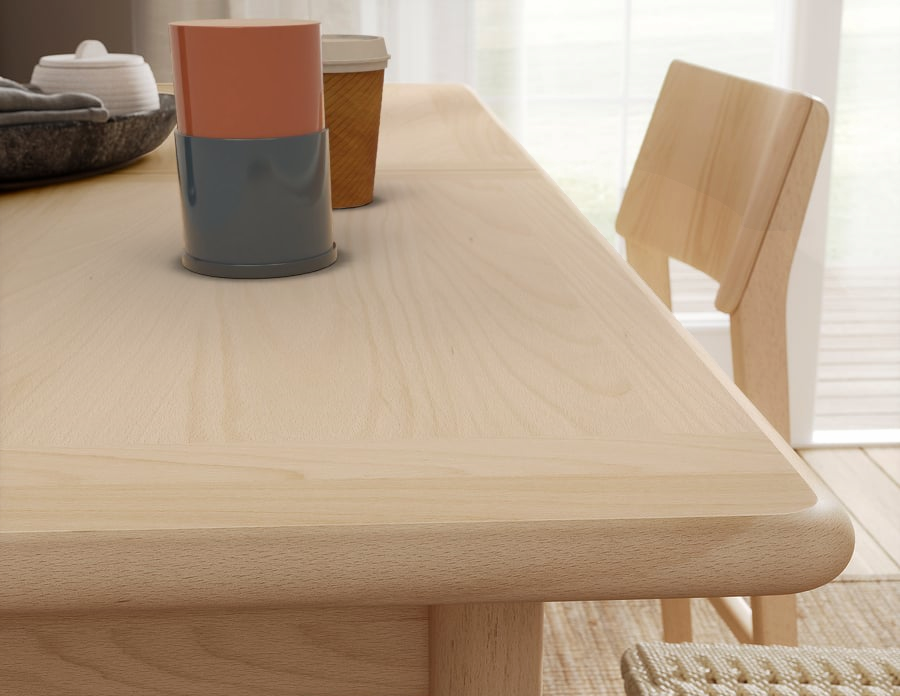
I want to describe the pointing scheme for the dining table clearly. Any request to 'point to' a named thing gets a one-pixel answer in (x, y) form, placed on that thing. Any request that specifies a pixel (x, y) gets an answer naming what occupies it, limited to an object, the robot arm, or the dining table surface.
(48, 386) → the dining table surface
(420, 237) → the dining table surface
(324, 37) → the disposable coffee cup
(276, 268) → the cup stack
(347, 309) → the dining table surface
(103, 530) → the dining table surface
